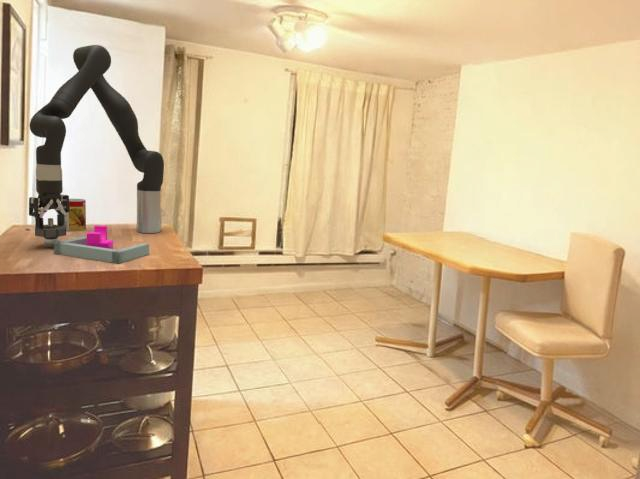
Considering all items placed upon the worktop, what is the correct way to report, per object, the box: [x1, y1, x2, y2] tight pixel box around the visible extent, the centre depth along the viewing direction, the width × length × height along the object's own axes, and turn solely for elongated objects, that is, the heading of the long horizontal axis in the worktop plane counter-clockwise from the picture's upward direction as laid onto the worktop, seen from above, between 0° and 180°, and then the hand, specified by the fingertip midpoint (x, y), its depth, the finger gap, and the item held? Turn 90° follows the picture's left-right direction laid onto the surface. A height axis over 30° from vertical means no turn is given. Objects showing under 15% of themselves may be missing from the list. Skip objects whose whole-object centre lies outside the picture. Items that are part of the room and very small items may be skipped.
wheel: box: [34, 224, 67, 238], centre depth 156 cm, size 9×9×2 cm
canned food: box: [64, 198, 87, 232], centre depth 186 cm, size 8×8×12 cm
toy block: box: [86, 225, 114, 249], centre depth 156 cm, size 15×6×8 cm, turn 16°
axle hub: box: [42, 217, 60, 249], centre depth 156 cm, size 4×4×10 cm
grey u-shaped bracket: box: [53, 235, 150, 264], centre depth 152 cm, size 15×24×4 cm, turn 75°
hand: (50, 227), depth 156 cm, fingers open, 8 cm apart
